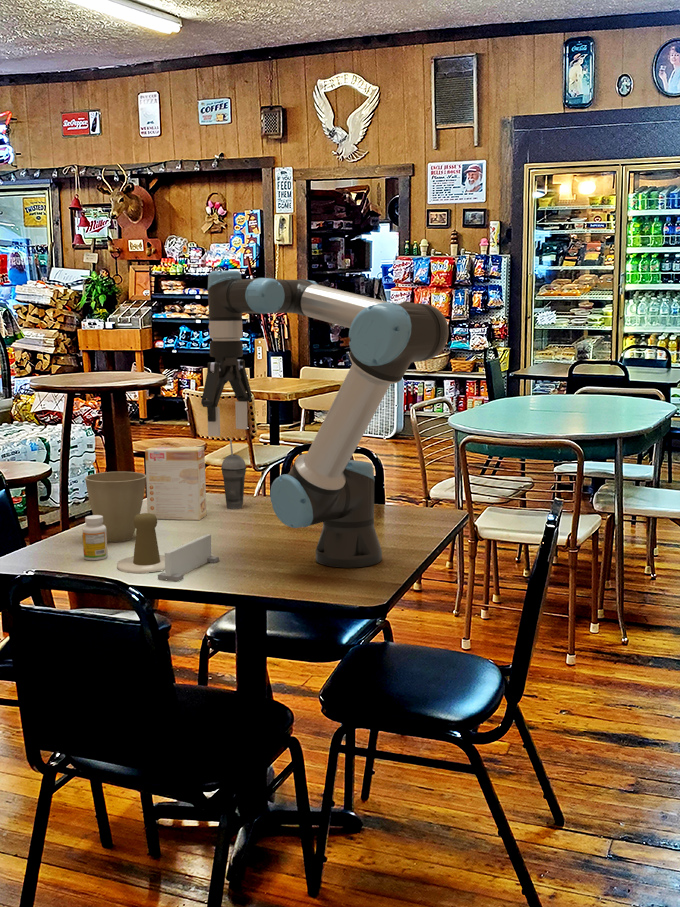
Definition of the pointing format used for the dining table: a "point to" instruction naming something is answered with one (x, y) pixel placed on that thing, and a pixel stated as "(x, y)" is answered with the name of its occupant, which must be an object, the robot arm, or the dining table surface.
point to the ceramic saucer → (140, 566)
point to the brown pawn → (146, 540)
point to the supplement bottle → (94, 538)
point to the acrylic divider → (187, 558)
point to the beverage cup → (234, 479)
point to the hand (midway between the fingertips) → (228, 432)
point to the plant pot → (116, 501)
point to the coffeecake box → (176, 482)
